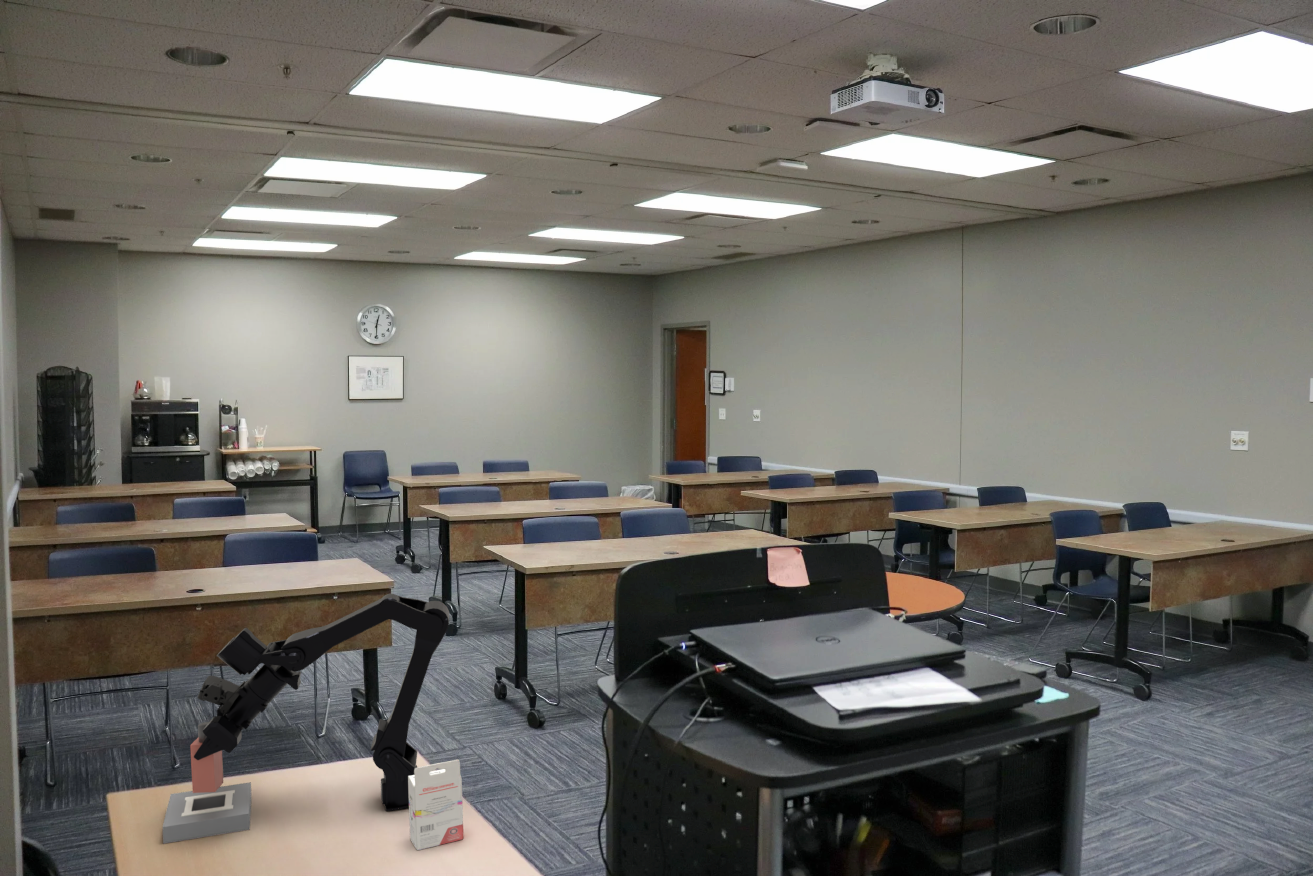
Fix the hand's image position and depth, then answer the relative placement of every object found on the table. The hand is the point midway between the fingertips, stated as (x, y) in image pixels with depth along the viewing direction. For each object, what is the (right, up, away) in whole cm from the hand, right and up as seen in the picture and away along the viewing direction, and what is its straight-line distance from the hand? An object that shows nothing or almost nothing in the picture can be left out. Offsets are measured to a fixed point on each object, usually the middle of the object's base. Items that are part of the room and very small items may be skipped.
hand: (199, 753), depth 178 cm
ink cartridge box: (+45, -13, -6) cm, 47 cm away
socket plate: (+1, -13, +1) cm, 13 cm away
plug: (+1, -7, +1) cm, 7 cm away
